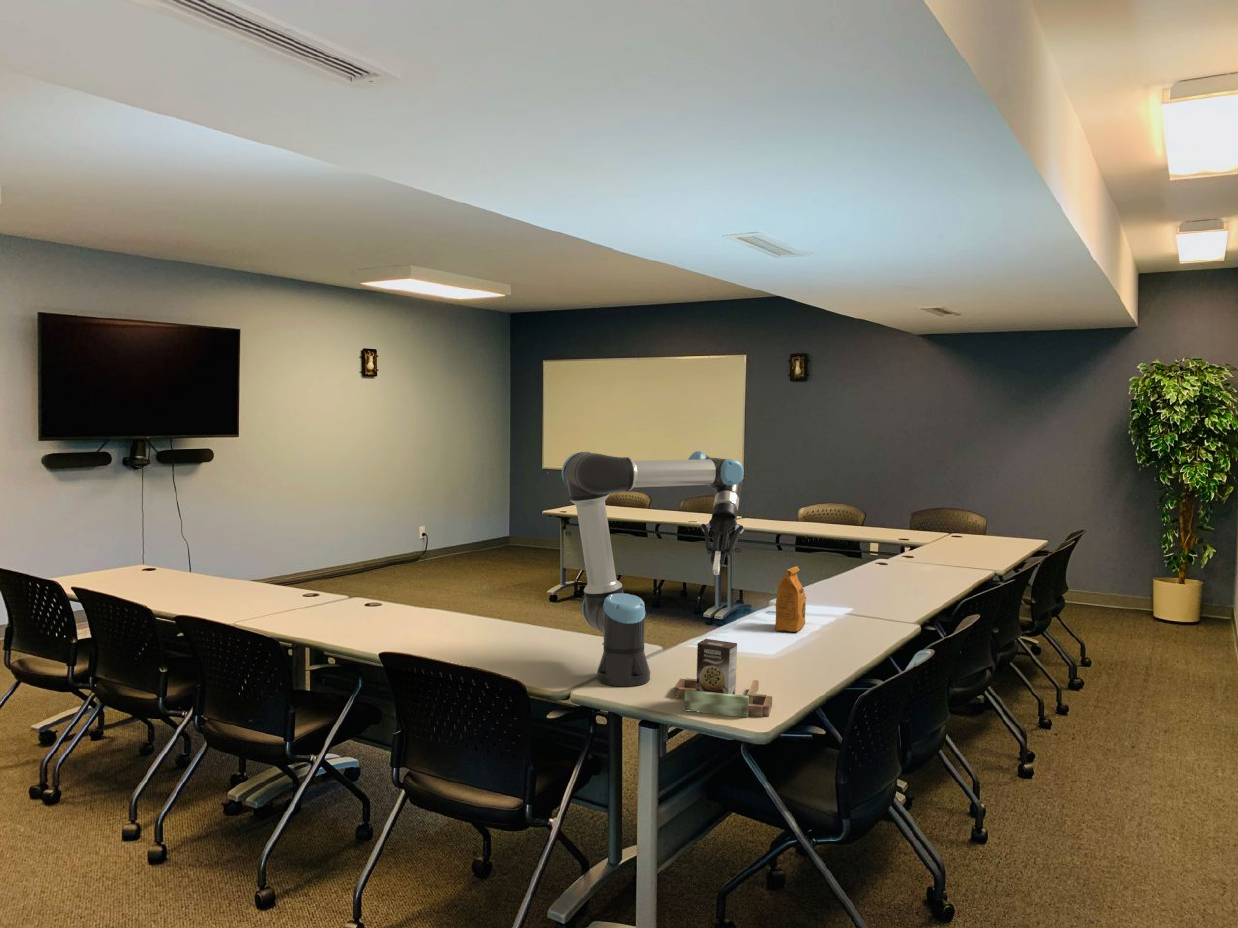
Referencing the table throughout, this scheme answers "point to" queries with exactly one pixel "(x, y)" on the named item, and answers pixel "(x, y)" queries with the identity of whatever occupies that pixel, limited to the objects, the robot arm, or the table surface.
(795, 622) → the coffee package
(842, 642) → the table surface
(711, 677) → the coffee box
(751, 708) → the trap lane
